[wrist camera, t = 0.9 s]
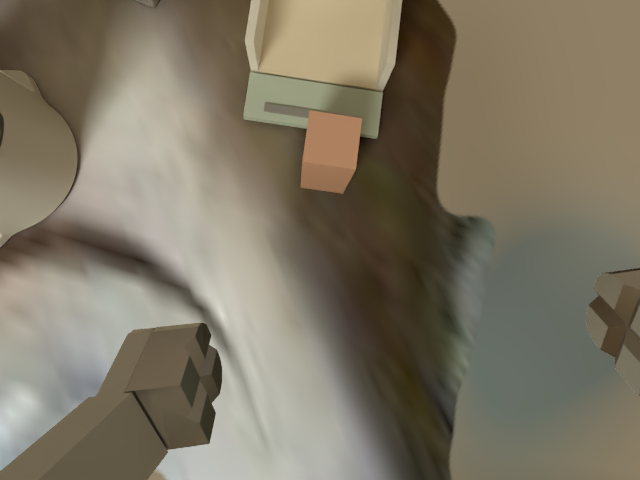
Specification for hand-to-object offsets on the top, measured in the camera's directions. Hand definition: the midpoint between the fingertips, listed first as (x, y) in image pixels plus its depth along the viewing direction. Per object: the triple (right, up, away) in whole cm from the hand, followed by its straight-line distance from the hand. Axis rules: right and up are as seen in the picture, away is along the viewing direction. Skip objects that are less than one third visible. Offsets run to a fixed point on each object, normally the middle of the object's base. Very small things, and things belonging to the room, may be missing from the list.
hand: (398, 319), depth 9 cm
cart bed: (-1, +25, +36) cm, 43 cm away
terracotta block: (-1, +9, +34) cm, 35 cm away
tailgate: (-2, +18, +34) cm, 39 cm away
